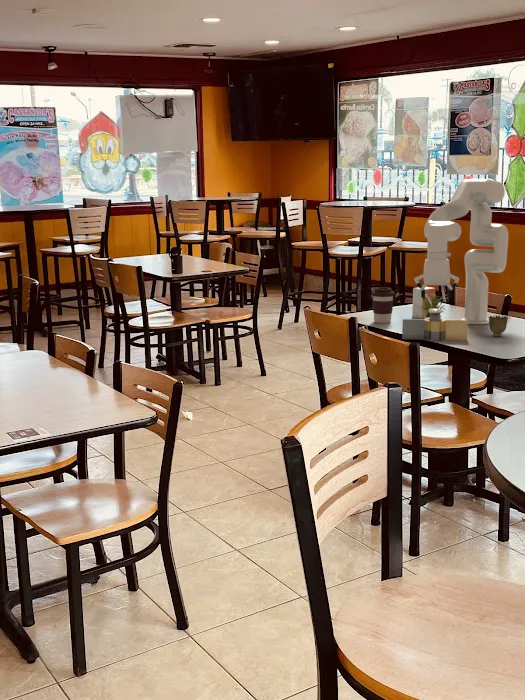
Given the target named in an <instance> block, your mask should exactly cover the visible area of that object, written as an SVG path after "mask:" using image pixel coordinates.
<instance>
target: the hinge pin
mask: <svg viewBox="0 0 525 700" xmlns="http://www.w3.org/2000/svg"><path fill="white" fill-rule="evenodd" d="M442 311H443V308H441V309H440V308H439V309H429V313H430V321H440V316H441V314H442V313H443V312H442Z"/></svg>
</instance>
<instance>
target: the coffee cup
mask: <svg viewBox="0 0 525 700" xmlns="http://www.w3.org/2000/svg"><path fill="white" fill-rule="evenodd" d="M371 296H372V312H373V321H374V322H375V323H376V324H389V323H391V322H392V315H393V310H394V309H393V306H394V296H395V291H394V290H392V288H391V287H386V286H380V287H379V286H378V287H375V289H374V290H372V291H371Z"/></svg>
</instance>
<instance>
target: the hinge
mask: <svg viewBox="0 0 525 700" xmlns="http://www.w3.org/2000/svg"><path fill="white" fill-rule="evenodd" d="M468 328H469V324H468V320H461V319H445V318H443V317H441V318H440V321H430V318H427V319H424V318H417V319H416V318H403V319H402V331H401V334H402V336H401V339H402V340H421V341H422V340H424V341H426V342H431V343H432V342H434V343H435V342H437V343H439V342H444V341H468V330H469V329H468Z"/></svg>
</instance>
